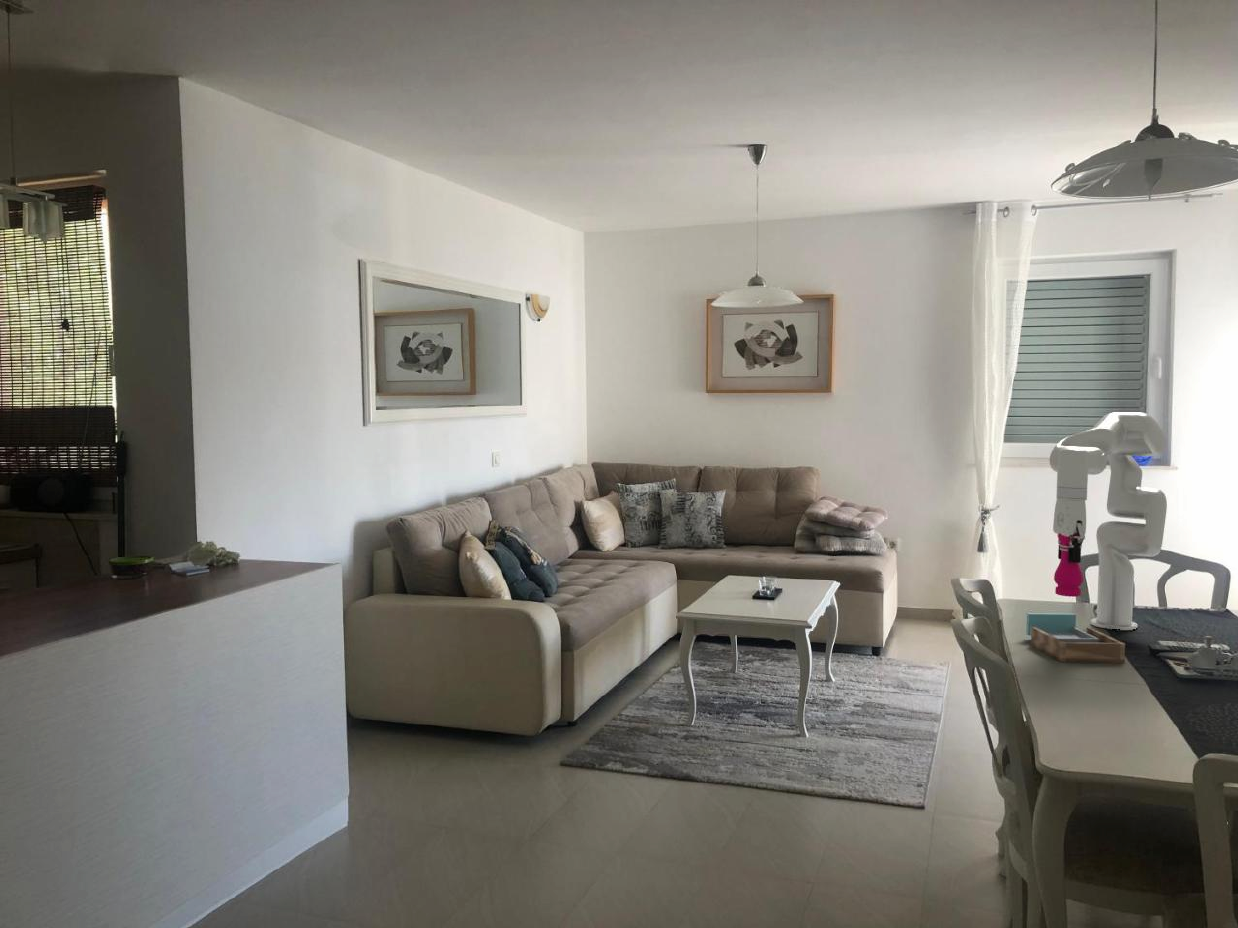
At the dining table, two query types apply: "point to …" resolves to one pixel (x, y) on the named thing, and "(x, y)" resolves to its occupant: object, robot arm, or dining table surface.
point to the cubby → (1080, 648)
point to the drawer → (1058, 627)
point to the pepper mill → (1067, 572)
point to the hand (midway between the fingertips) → (1069, 560)
